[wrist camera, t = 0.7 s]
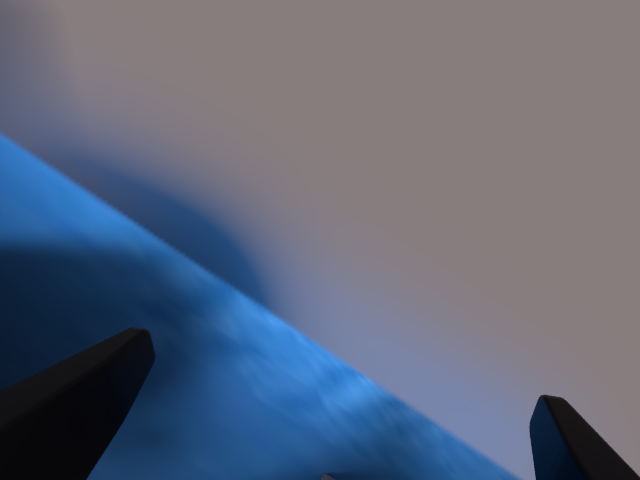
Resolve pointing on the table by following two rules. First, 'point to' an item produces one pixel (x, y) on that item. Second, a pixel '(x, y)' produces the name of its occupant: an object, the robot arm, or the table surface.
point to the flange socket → (326, 477)
